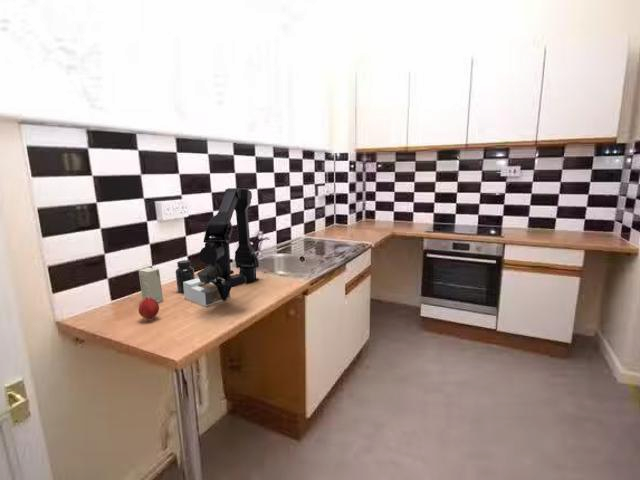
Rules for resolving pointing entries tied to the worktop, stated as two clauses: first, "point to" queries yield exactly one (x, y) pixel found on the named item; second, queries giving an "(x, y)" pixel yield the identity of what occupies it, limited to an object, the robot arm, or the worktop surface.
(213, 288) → the peg
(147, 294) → the skincare box
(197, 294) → the sleeve
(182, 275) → the supplement bottle
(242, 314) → the worktop surface
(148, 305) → the onion
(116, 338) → the worktop surface
